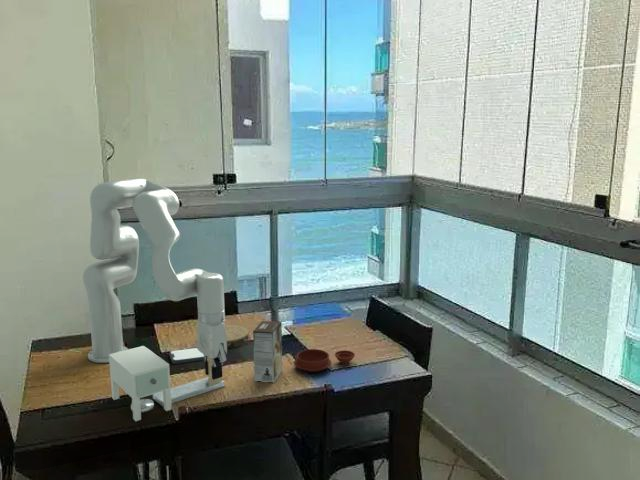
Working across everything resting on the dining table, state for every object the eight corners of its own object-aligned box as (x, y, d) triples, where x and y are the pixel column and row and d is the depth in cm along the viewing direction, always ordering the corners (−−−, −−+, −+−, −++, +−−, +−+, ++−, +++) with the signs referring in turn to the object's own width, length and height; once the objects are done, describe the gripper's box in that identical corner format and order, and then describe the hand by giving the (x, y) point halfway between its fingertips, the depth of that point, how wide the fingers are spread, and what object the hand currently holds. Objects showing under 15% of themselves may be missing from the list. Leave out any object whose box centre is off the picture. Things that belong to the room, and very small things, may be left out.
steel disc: (127, 407, 160) (127, 403, 160) (148, 400, 164) (148, 396, 163) (136, 415, 155) (136, 411, 155) (157, 408, 159) (157, 404, 159)
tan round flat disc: (257, 338, 210) (257, 330, 209) (227, 352, 197) (227, 344, 196) (223, 329, 218) (223, 321, 218) (192, 343, 205) (192, 335, 204)
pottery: (288, 364, 188) (288, 351, 187) (346, 355, 195) (346, 342, 194) (301, 379, 177) (301, 365, 176) (361, 368, 184) (361, 355, 183)
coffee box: (262, 369, 184) (262, 320, 180) (282, 370, 182) (282, 321, 179) (253, 381, 175) (252, 330, 171) (274, 383, 174) (273, 332, 170)
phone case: (216, 349, 201) (168, 355, 195) (216, 344, 200) (168, 350, 194) (222, 359, 193) (172, 365, 187) (222, 354, 192) (172, 361, 186)
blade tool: (152, 398, 164) (150, 365, 162) (214, 379, 176) (213, 347, 174) (162, 406, 160) (160, 372, 158) (224, 386, 172) (223, 353, 170)
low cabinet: (112, 398, 164) (108, 354, 162) (146, 387, 171) (143, 345, 168) (138, 423, 151) (134, 376, 148) (174, 411, 157) (171, 366, 154)
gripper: (186, 311, 172) (189, 370, 176) (214, 326, 160) (216, 389, 164) (208, 306, 177) (211, 363, 181) (237, 320, 165) (239, 381, 169)
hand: (213, 375), depth 172 cm, fingers closed on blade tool, 3 cm apart
